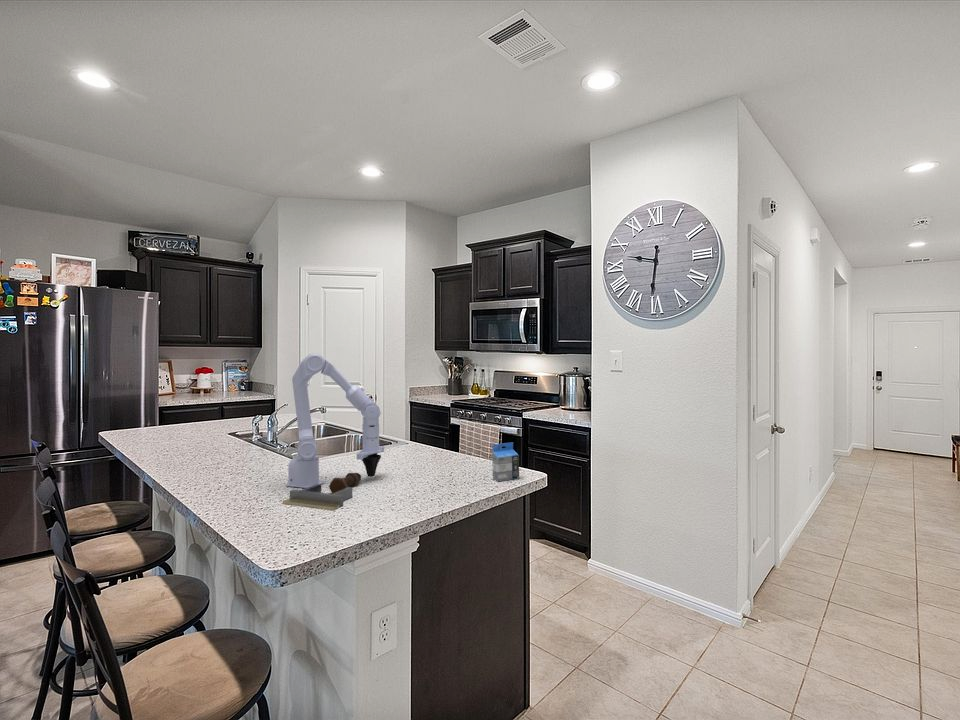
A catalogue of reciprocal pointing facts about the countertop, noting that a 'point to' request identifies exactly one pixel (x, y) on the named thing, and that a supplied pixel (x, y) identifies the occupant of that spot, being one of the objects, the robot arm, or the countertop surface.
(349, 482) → the bolt
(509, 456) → the label tape box
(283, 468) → the countertop surface
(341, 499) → the grey shallow rectangular tray
